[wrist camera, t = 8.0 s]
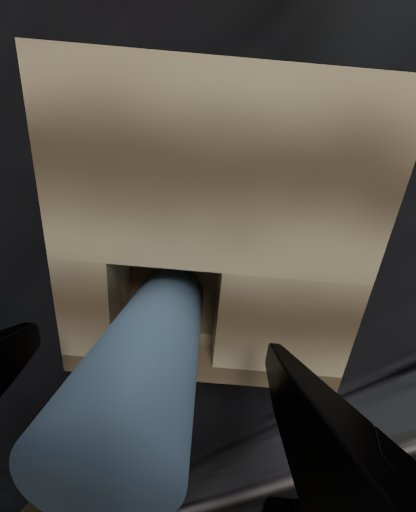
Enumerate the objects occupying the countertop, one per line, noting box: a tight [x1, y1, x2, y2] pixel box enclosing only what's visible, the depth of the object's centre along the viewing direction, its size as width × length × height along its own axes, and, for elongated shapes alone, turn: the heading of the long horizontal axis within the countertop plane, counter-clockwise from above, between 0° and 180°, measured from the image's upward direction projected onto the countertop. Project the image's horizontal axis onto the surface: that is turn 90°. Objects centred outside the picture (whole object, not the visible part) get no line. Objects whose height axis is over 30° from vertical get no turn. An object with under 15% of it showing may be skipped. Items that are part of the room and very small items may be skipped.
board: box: [15, 37, 416, 393], centre depth 10 cm, size 14×14×3 cm
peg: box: [9, 268, 204, 512], centre depth 8 cm, size 4×4×8 cm
